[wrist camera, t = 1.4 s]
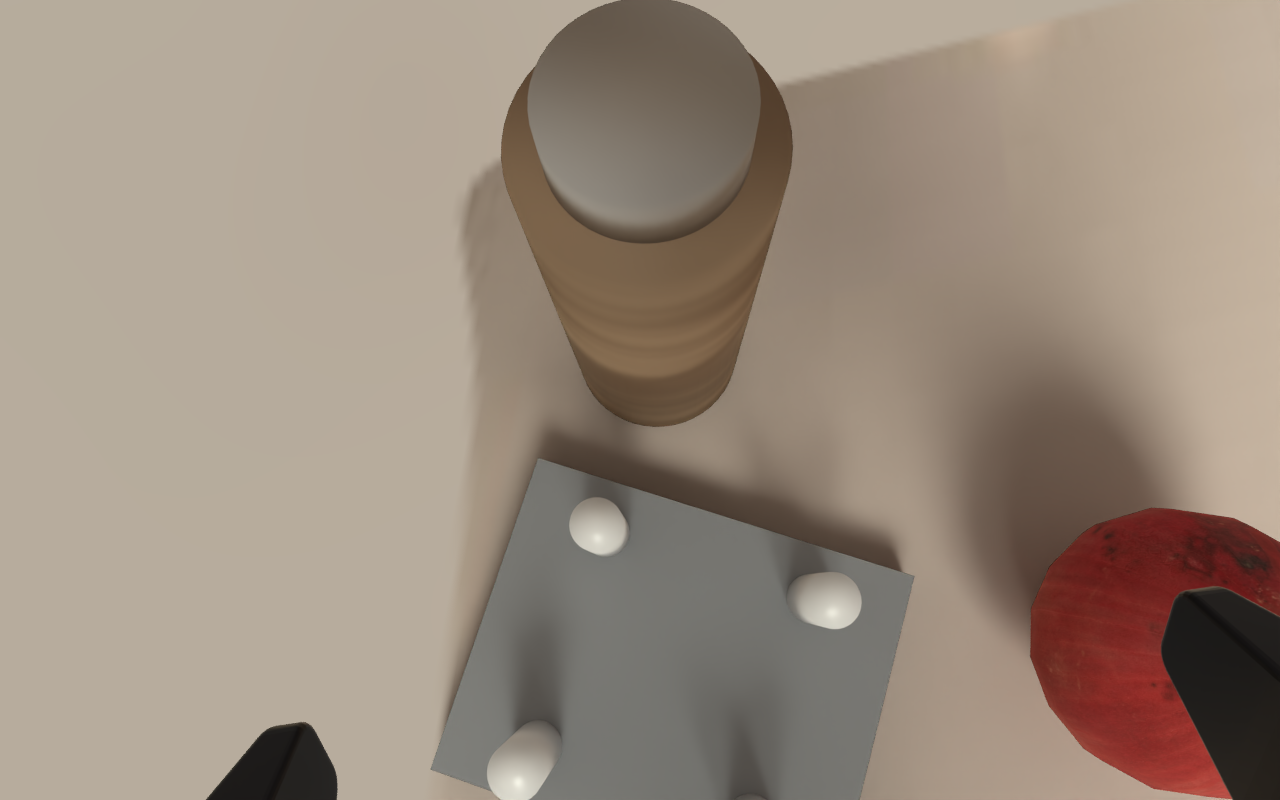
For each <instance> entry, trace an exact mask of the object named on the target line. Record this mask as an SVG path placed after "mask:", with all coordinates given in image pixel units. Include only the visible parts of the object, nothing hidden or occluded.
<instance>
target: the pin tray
mask: <svg viewBox="0 0 1280 800" xmlns="http://www.w3.org/2000/svg"><path fill="white" fill-rule="evenodd" d="M913 580H914V576H912V575H909V574H906V573H903V572H900V571H896V570H893V569H890V568H887V567H884V566H881V565H877V564H874V563H871V562H868V561H865V560H861V559H858V558H855V557H852V556H849V555H845V554H842V553H839V552H836V551H833V550H830V549H826V548H823V547H820V546H817V545H814V544H810V543H807V542H804V541H801V540H798V539H795V538H791V537H788V536H785V535H782V534H779V533H775V532H772V531H769V530H766V529H763V528H760V527H756V526H753V525H750V524H747V523H744V522H740V521H737V520H734V519H731V518H728V517H725V516H721V515H718V514H715V513H712V512H709V511H705V510H702V509H699V508H696V507H693V506H689V505H686V504H683V503H680V502H677V501H674V500H670V499H667V498H664V497H661V496H658V495H654V494H651V493H648V492H645V491H642V490H639V489H635V488H632V487H629V486H626V485H623V484H619V483H616V482H613V481H610V480H607V479H604V478H600V477H597V476H594V475H591V474H588V473H584V472H581V471H578V470H575V469H572V468H569V467H565V466H562V465H559V464H556V463H553V462H549V461H546V460H543V459H540V458H538V460H537V463H536V466H535V468H534V471H533V474H532V477H531V480H530V483H529V486H528V489H527V492H526V495H525V497H524V500H523V503H522V506H521V509H520V512H519V515H518V518H517V521H516V523H515V526H514V529H513V532H512V535H511V538H510V541H509V544H508V547H507V549H506V552H505V555H504V558H503V561H502V564H501V567H500V570H499V573H498V576H497V578H496V581H495V584H494V587H493V590H492V593H491V596H490V599H489V602H488V604H487V607H486V610H485V613H484V616H483V619H482V622H481V625H480V628H479V631H478V633H477V636H476V639H475V642H474V645H473V648H472V651H471V654H470V657H469V659H468V662H467V665H466V668H465V671H464V674H463V677H462V680H461V683H460V686H459V688H458V691H457V694H456V697H455V700H454V703H453V706H452V709H451V712H450V714H449V717H448V720H447V723H446V726H445V729H444V732H443V735H442V738H441V741H440V743H439V746H438V749H437V752H436V755H435V758H434V761H433V764H432V767H431V770H433V771H436V772H439V773H442V774H445V775H447V776H450V777H453V778H456V779H459V780H461V781H464V782H467V783H470V784H472V785H475V786H478V787H481V788H484V789H486V790H489V791H492V792H493V793H494V794H495V795H496V796H497V797H498V798H499V799H501V800H860V796H861V792H862V788H863V784H864V780H865V776H866V771H867V767H868V763H869V759H870V755H871V751H872V747H873V743H874V739H875V735H876V731H877V727H878V723H879V718H880V714H881V710H882V706H883V702H884V698H885V694H886V690H887V686H888V682H889V678H890V674H891V670H892V665H893V661H894V657H895V653H896V649H897V645H898V641H899V637H900V633H901V629H902V625H903V621H904V617H905V612H906V608H907V604H908V600H909V596H910V592H911V588H912V584H913Z"/></svg>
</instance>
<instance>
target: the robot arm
mask: <svg viewBox="0 0 1280 800" xmlns="http://www.w3.org/2000/svg"><path fill="white" fill-rule="evenodd" d="M1161 656H1162V661H1163V664H1164V666H1165V669H1166V671H1167V673H1168V675H1169V677H1170V679H1171V681H1172V683H1173V685H1174V687H1175V689H1176V691H1177V693H1178V695H1179V697H1180V699H1181V700H1182V702H1183V704H1184V706H1185V708H1186V710H1187V712H1188V714H1189V716H1190V718H1191V720H1192V722H1193V724H1194V726H1195V728H1196V730H1197V732H1198V734H1199V736H1200V738H1201V740H1202V742H1203V744H1204V746H1205V748H1206V749H1207V751H1208V753H1209V755H1210V757H1211V759H1212V761H1213V763H1214V765H1215V767H1216V769H1217V771H1218V773H1219V775H1220V777H1221V779H1222V781H1223V783H1224V785H1225V787H1226V789H1227V790H1228V792H1229V794H1230V796H1231V798H1232V799H1233V800H1280V616H1278V615H1276V614H1274V613H1272V612H1271V611H1269V610H1267V609H1265V608H1263V607H1261V606H1259V605H1258V604H1256V603H1254V602H1252V601H1250V600H1248V599H1246V598H1245V597H1243V596H1241V595H1239V594H1237V593H1235V592H1233V591H1231V590H1229V589H1227V588H1223V587H1218V586H1212V587H1205V588H1198V589H1191V590H1185V591H1182V592H1180V593H1179V594H1178V595H1177V596H1176V597H1175V599H1174V601H1173V604H1172V608H1171V611H1170V614H1169V618H1168V621H1167V625H1166V628H1165V631H1164V635H1163V638H1162V642H1161ZM206 800H337V776H336V772H335V769H334V766H333V764H332V762H331V760H330V759H329V757H328V755H327V753H326V751H325V749H324V747H323V745H322V743H321V741H320V740H319V738H318V736H317V734H316V732H315V730H314V729H313V727H312V726H311V725H309V724H308V723H306V722H299V723H293V724H286V725H279V726H274V727H271V728H269V729H267V730H266V731H265V732H263V733H262V734H261V735H260V736H259V737H258V738H257V740H256V741H255V742H254V743H253V744H252V745H251V747H250V748H249V749H248V750H247V751H246V753H245V754H244V755H243V756H242V757H241V759H240V760H239V761H238V762H237V763H236V765H235V766H234V767H233V768H232V770H230V772H229V773H228V774H227V775H226V776H225V778H224V779H223V780H222V781H221V782H220V784H219V785H218V786H217V787H216V788H215V790H214V791H213V792H212V793H211V794H210V795H209V797H208V798H207V799H206Z"/></svg>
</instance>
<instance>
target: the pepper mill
mask: <svg viewBox="0 0 1280 800" xmlns="http://www.w3.org/2000/svg"><path fill="white" fill-rule="evenodd" d="M792 151H793V145H792V130H791V125H790V121H789V116H788V112H787V110H786V107H785V104H784V101H783V99H782V96H781V95H780V93H779V91H778V89H777V87H776V85H775V83H774V82H773V80H772V79H771V77H770V76H769V75H768V73H767V72H766V71H765V70H764V68H763V67H762V66H761V65H760V64H759V63H758V62H757V61H756V59H755V58H754V57H753V56H752V55H751V54H749V53H748V52H747V50H746V49H745V48H744V46H743V45H742V44H741V42H740V41H739V39H738V38H737V37H736V36H735V35H734V34H733V33H732V32H731V31H730V30H729V29H728V28H727V27H726V26H725V25H723V24H722V23H721V22H720V21H718V20H717V19H716V18H714V17H712V16H711V15H709V14H707V13H706V12H704V11H701V10H699V9H697V8H695V7H693V6H690V5H687V4H684V3H681V2H677V1H672V0H621V1H616V2H613V3H609V4H605V5H603V6H600V7H598V8H595V9H593V10H591V11H589V12H587V13H585V14H583V15H581V16H580V17H578V18H577V19H575V20H574V21H573V22H571V23H570V24H568V25H567V26H566V27H565V28H564V29H562V31H560V32H559V33H558V34H557V35H556V36H555V37H554V39H553V40H552V41H551V42H550V43H549V44H548V46H547V47H546V49H545V50H544V52H543V54H542V55H541V56H540V58H539V60H538V62H537V65H536V66H535V67H534V68H533V70H532V71H531V72H530V73H529V74H528V75H527V77H526V78H525V80H524V81H523V83H522V84H521V86H520V87H519V89H518V91H517V92H516V94H515V97H514V99H513V101H512V103H511V105H510V108H509V110H508V114H507V117H506V120H505V123H504V129H503V135H502V145H501V161H502V169H503V176H504V180H505V183H506V187H507V190H508V194H509V196H510V198H511V201H512V203H513V206H514V208H515V211H516V213H517V215H518V218H519V220H520V223H521V225H522V228H523V230H524V233H525V235H526V237H527V240H528V242H529V245H530V247H531V250H532V252H533V254H534V257H535V259H536V262H537V264H538V267H539V269H540V272H541V274H542V276H543V279H544V281H545V284H546V286H547V289H548V291H549V293H550V296H551V298H552V301H553V303H554V306H555V308H556V310H557V313H558V315H559V318H560V320H561V323H562V325H563V328H564V330H565V332H566V335H567V337H568V340H569V342H570V345H571V347H572V349H573V352H574V354H575V357H576V359H577V362H578V364H579V367H580V369H581V371H582V374H583V376H584V379H585V381H586V383H587V385H588V387H589V389H590V390H591V392H592V394H593V395H594V396H595V397H596V399H597V400H598V401H599V402H600V403H601V404H602V405H603V406H604V407H605V408H606V409H608V410H609V411H610V412H612V413H613V414H615V415H616V416H618V417H620V418H622V419H624V420H626V421H629V422H632V423H635V424H639V425H643V426H653V427H659V426H670V425H676V424H679V423H683V422H686V421H688V420H690V419H693V418H695V417H696V416H698V415H700V414H701V413H703V412H704V411H706V410H707V409H708V408H709V407H711V406H712V405H713V404H714V403H715V402H716V401H717V400H718V398H719V397H720V396H721V394H722V393H723V392H724V390H725V388H726V387H727V385H728V383H729V381H730V378H731V376H732V373H733V370H734V367H735V363H736V360H737V356H738V353H739V349H740V346H741V342H742V339H743V335H744V332H745V328H746V325H747V321H748V318H749V314H750V311H751V307H752V304H753V301H754V297H755V294H756V290H757V287H758V283H759V280H760V276H761V273H762V269H763V266H764V262H765V259H766V255H767V252H768V248H769V245H770V241H771V238H772V235H773V231H774V228H775V224H776V221H777V217H778V214H779V210H780V207H781V203H782V200H783V196H784V193H785V189H786V186H787V182H788V178H789V173H790V169H791V163H792Z"/></svg>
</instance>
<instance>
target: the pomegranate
mask: <svg viewBox="0 0 1280 800" xmlns="http://www.w3.org/2000/svg"><path fill="white" fill-rule="evenodd" d="M1212 586H1218V587H1223V588H1227V589H1229V590H1231V591H1233V592H1235V593H1237V594H1239V595H1241V596H1243V597H1245V598H1246V599H1248V600H1250V601H1252V602H1254V603H1256V604H1258V605H1259V606H1261V607H1263V608H1265V609H1267V610H1269V611H1271V612H1272V613H1274V614H1276V615H1278V616H1280V542H1278V541H1277V540H1275V539H1273V538H1271V537H1269V536H1268V535H1266V534H1264V533H1262V532H1260V531H1259V530H1257V529H1255V528H1253V527H1251V526H1249V525H1247V524H1245V523H1243V522H1241V521H1239V520H1237V519H1234V518H1229V517H1223V516H1216V515H1209V514H1202V513H1196V512H1189V511H1182V510H1176V509H1164V508H1149V509H1146V510H1142V511H1139V512H1136V513H1132V514H1129V515H1126V516H1122V517H1119V518H1116V519H1112V520H1109V521H1106V522H1102V523H1099V524H1096V525H1094V526H1093V527H1091V528H1090V529H1088V530H1086V531H1085V532H1083V533H1082V534H1081V535H1080V536H1079V537H1078V538H1077V539H1076V540H1075V541H1074V542H1073V543H1072V544H1071V545H1070V546H1069V547H1068V548H1067V549H1066V550H1065V551H1064V552H1063V553H1062V554H1061V555H1060V556H1059V557H1058V558H1057V559H1056V560H1055V562H1054V563H1053V564H1052V565H1051V566H1050V567H1049V569H1048V571H1047V573H1046V576H1045V578H1044V580H1043V583H1042V585H1041V587H1040V589H1039V592H1038V594H1037V596H1036V599H1035V601H1034V603H1033V605H1032V608H1031V648H1030V657H1031V660H1032V662H1033V665H1034V668H1035V670H1036V673H1037V676H1038V678H1039V681H1040V684H1041V686H1042V689H1043V692H1044V694H1045V697H1046V700H1047V702H1048V705H1049V707H1050V708H1051V709H1052V710H1053V711H1054V713H1055V714H1056V715H1057V716H1058V718H1059V719H1060V720H1061V721H1062V723H1063V724H1064V725H1065V726H1066V728H1067V729H1068V730H1069V731H1070V732H1071V734H1072V735H1073V736H1074V737H1075V739H1076V740H1077V741H1078V742H1079V744H1080V745H1081V746H1082V747H1083V748H1084V749H1085V750H1087V751H1088V752H1090V753H1091V754H1093V755H1094V756H1096V757H1097V758H1099V759H1100V760H1102V761H1104V762H1106V763H1107V764H1109V765H1111V766H1113V767H1115V768H1117V769H1118V770H1120V771H1122V772H1124V773H1126V774H1128V775H1129V776H1131V777H1133V778H1135V779H1137V780H1139V781H1140V782H1142V783H1144V784H1146V785H1148V786H1150V787H1151V788H1153V789H1159V790H1165V791H1172V792H1179V793H1186V794H1193V795H1200V796H1206V797H1216V798H1226V799H1232V798H1231V796H1230V794H1229V792H1228V790H1227V789H1226V787H1225V785H1224V783H1223V781H1222V779H1221V777H1220V775H1219V773H1218V771H1217V769H1216V767H1215V765H1214V763H1213V761H1212V759H1211V757H1210V755H1209V753H1208V751H1207V749H1206V748H1205V746H1204V744H1203V742H1202V740H1201V738H1200V736H1199V734H1198V732H1197V730H1196V728H1195V726H1194V724H1193V722H1192V720H1191V718H1190V716H1189V714H1188V712H1187V710H1186V708H1185V706H1184V704H1183V702H1182V700H1181V699H1180V697H1179V695H1178V693H1177V691H1176V689H1175V687H1174V685H1173V683H1172V681H1171V679H1170V677H1169V675H1168V673H1167V671H1166V669H1165V666H1164V664H1163V661H1162V656H1161V642H1162V638H1163V635H1164V631H1165V628H1166V625H1167V621H1168V618H1169V614H1170V611H1171V608H1172V604H1173V601H1174V599H1175V597H1176V596H1177V595H1178V594H1179V593H1180V592H1182V591H1185V590H1191V589H1198V588H1205V587H1212Z"/></svg>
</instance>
